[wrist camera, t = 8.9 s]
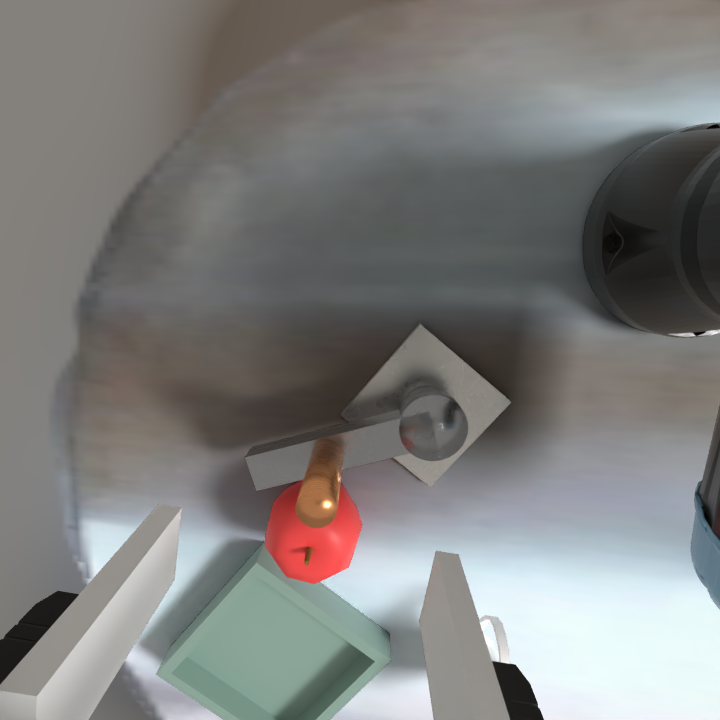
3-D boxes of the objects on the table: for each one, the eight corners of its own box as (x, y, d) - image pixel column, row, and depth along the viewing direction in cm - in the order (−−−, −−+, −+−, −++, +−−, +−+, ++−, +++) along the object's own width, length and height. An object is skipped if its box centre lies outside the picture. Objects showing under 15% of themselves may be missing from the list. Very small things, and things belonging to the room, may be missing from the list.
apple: (381, 498, 40) (384, 555, 32) (327, 560, 41) (317, 629, 33) (309, 446, 39) (294, 491, 31) (256, 511, 40) (229, 570, 33)
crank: (454, 381, 34) (487, 424, 25) (468, 441, 35) (505, 505, 26) (247, 434, 35) (203, 494, 26) (266, 490, 36) (231, 569, 27)
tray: (264, 541, 41) (256, 562, 38) (389, 633, 43) (390, 660, 40) (170, 646, 43) (155, 674, 40) (291, 729, 45) (286, 761, 42)
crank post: (419, 322, 37) (424, 328, 33) (508, 399, 38) (521, 411, 35) (341, 412, 38) (338, 425, 35) (428, 482, 39) (434, 501, 36)
